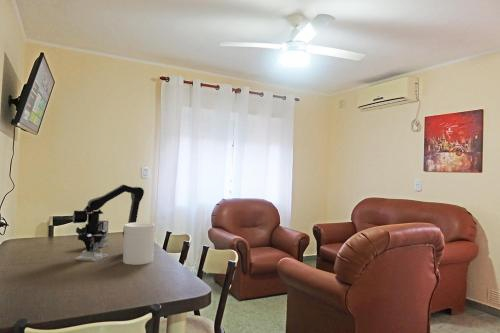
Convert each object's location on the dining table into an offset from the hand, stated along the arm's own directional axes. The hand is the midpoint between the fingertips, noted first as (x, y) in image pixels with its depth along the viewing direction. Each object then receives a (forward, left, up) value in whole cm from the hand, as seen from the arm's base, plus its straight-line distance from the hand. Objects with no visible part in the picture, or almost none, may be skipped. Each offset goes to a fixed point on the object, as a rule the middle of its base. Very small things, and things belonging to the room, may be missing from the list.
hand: (92, 249), depth 188 cm
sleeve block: (0, 0, -4) cm, 4 cm away
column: (0, 0, -3) cm, 3 cm away
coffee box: (+12, -26, -5) cm, 29 cm away
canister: (-27, -1, -5) cm, 27 cm away
